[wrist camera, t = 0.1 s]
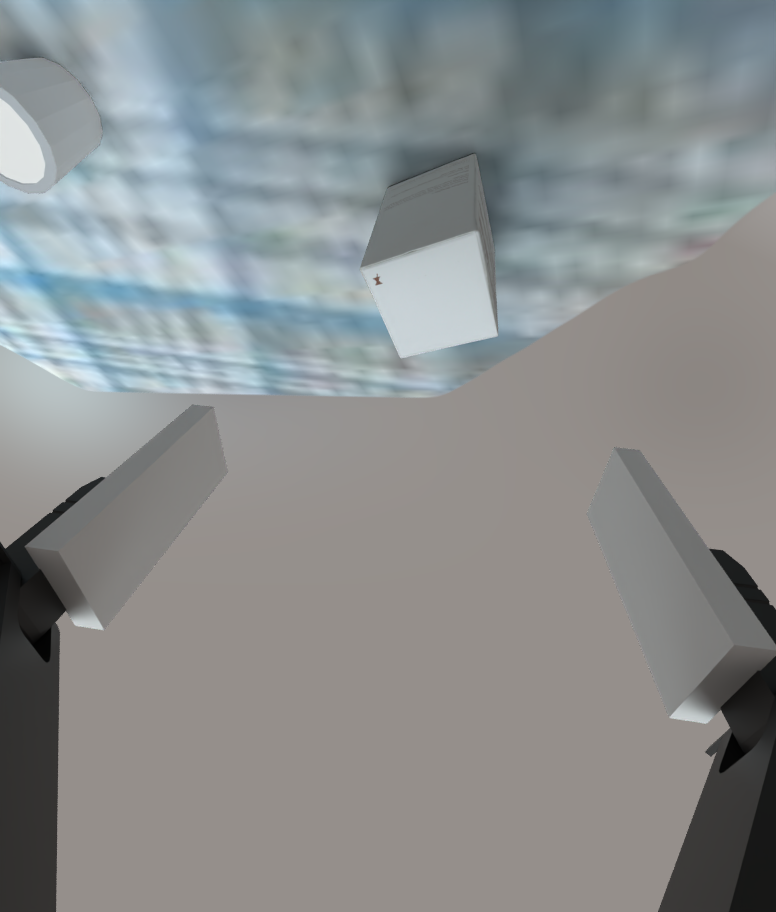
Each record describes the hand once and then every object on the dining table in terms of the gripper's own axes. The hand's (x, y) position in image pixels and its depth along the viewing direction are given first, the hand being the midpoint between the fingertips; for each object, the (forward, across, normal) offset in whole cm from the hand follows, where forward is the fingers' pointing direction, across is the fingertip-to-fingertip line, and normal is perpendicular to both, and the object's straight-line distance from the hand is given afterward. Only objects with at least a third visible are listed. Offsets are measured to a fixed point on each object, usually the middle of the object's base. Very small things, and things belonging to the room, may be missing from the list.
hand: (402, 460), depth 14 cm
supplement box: (+28, 0, +6) cm, 28 cm away
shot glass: (+26, -29, +12) cm, 41 cm away
